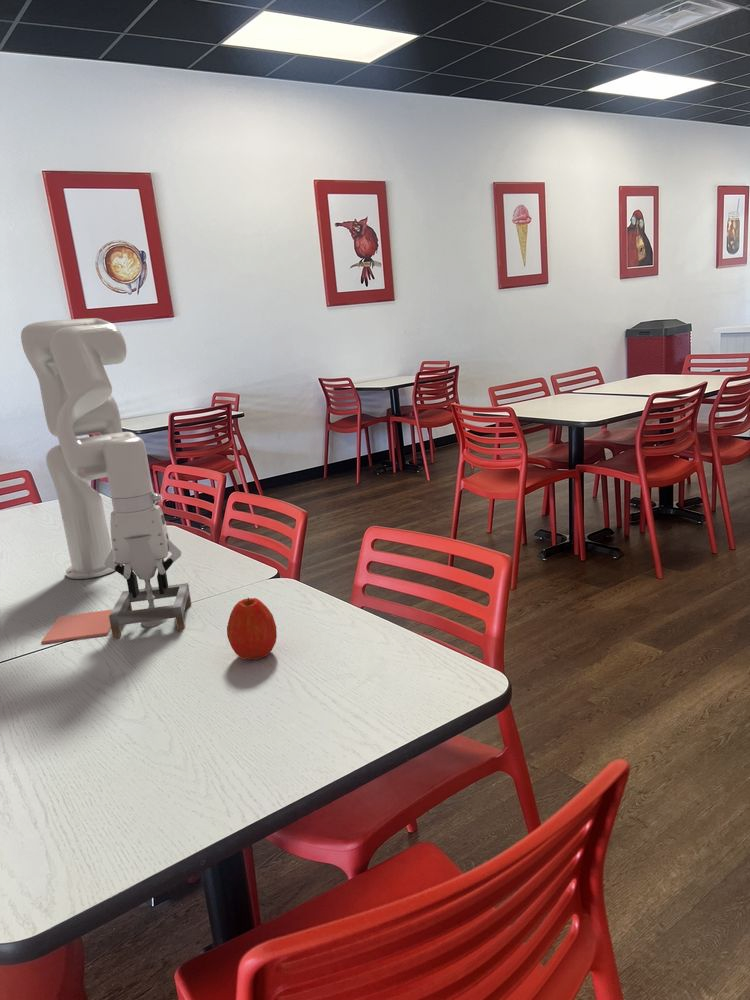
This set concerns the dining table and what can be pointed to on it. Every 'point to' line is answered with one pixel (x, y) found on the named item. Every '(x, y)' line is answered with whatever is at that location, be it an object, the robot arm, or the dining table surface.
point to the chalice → (144, 569)
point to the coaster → (79, 626)
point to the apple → (251, 629)
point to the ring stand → (126, 615)
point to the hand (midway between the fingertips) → (149, 592)
